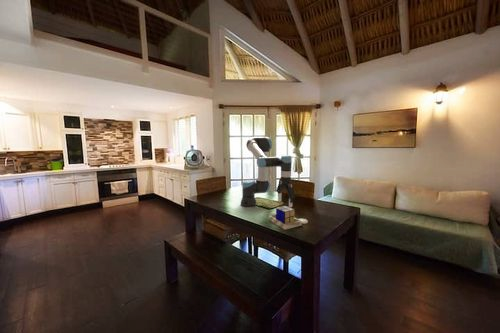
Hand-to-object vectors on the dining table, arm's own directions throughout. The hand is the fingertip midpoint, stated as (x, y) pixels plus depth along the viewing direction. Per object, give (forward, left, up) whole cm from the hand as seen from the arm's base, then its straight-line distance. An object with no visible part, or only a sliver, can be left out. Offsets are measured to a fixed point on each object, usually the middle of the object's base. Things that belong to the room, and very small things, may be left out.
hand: (284, 204), depth 157 cm
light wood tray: (0, 0, -14) cm, 14 cm away
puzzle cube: (+1, 0, -14) cm, 14 cm away
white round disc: (+5, +13, -14) cm, 20 cm away
